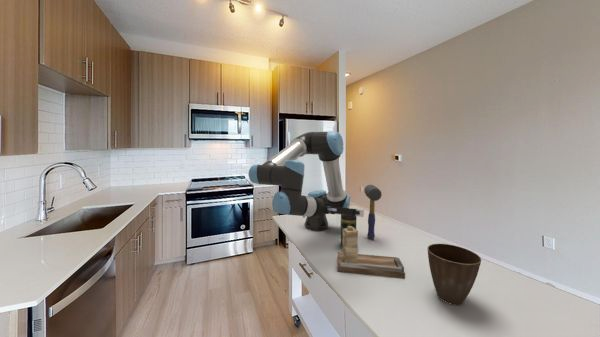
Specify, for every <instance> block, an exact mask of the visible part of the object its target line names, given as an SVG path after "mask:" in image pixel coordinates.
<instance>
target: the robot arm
mask: <svg viewBox="0 0 600 337" xmlns="http://www.w3.org/2000/svg"><path fill="white" fill-rule="evenodd" d="M343 152H344V141H343V137H342V135H341V133H340V132H338V131H332V130H329V131H307V132H305V133H302V134H301V135H298V136H296V137H295V138H293V139H292V140H291V141H290V143H289V144H288V145H287V146H286V147H285V148H283V149H282V150H280V151H279V152H277V153H276V154H275V155H274V156H272V157H271V158H269V159H268V160H266V161H265V162H263V164H253V165H251V167H250V168H249V169H248V178H249V181H250V182H251V183H253V184H256V185H257V184H258V185H267V186H277V187H281V188H280V191H276V192H275V194H274V195H273V198H272V202H271V206H272V210H273V211H274V212H275V213H277V214H281V215H287V216H298V217H302V218H303V219H305V221H304V228H305V229H306V230H308V231H309V230H310V231H313V232H314V231H316V232H319V231H320V232H321V231H322V232H323V231H325V230H328V228H329V221H328V218H327V215H340V216H341V214H346V215H351V216H352V217H353V216H356V217H360V218H364V214H365V212H364V209H359V208H350V205H351V196H350V195H349V194H347V192H346V191H345V190H344V189H343V188H344V186H343V181H342V174H341V167H340V161H339V158H340V157H341V156H342V154H343ZM305 155H317V156H318V160H319V161H321V162H322V167H323V171H324V176H325V181H326V187H327V190H321V189H320V190H313V191H309V192H308V194H307V195H302V190H303V184H304V177H305V164H304V162H303V161H300V160H297V159H299V158H302V157H304V156H305Z"/></svg>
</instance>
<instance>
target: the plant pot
mask: <svg viewBox="0 0 600 337" xmlns="http://www.w3.org/2000/svg"><path fill="white" fill-rule="evenodd" d="M427 257H428V258H427V259H428V266H429V270H430V275H431V279H432V282H433V286H434V289H435V291H436V295H437V297H438V296H439V297H440V298H441V299H442V301H443V300H444V301H443V302H445V301H446V302H445V303H447V302H448V303H447V304H449V303H451V304H450V305H453V304H456V305H455V306H460V305H459V304H461V305H463V304H464V302H465V301H466V299H467V298H468V296H469V294H470V292H471V290H472V288H473V286H474V284H475V282H476V279H477V277H478V273H479V270H480V267H481V263H482V258H481V256H480V255H479V254H477V253H476V252H474V251H472V250H469V249H467V248H464V247H461V246H458V245H454V244H447V243H432V244H430V245H428V246H427ZM439 297H438V298H439ZM440 298H439V299H440ZM441 299H440V300H441ZM462 303H463V304H462Z"/></svg>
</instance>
